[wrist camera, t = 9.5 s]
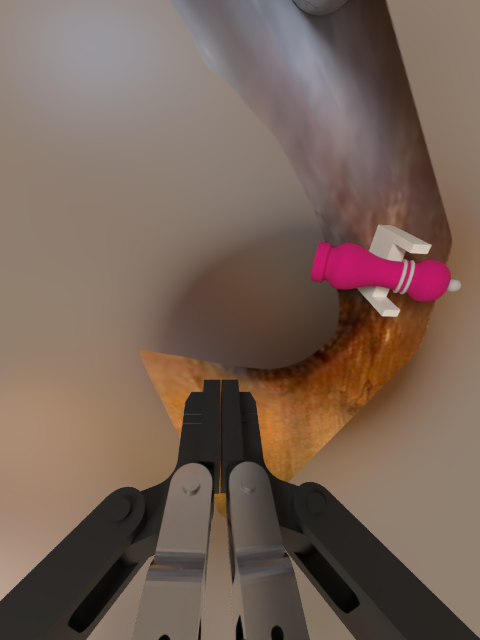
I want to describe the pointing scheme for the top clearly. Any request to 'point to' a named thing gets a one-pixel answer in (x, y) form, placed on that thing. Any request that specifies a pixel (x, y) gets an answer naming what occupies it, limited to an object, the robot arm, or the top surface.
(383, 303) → the u rest
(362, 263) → the pepper mill
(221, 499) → the top surface
